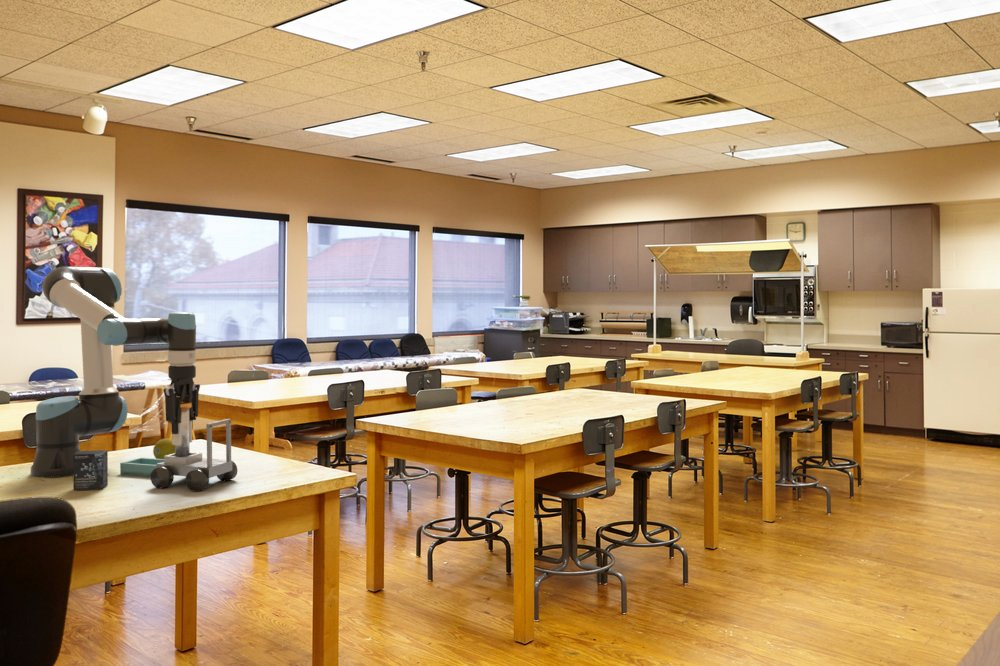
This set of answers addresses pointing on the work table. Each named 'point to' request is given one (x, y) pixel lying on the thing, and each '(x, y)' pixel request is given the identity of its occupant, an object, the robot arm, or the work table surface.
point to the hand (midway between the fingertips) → (182, 443)
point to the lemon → (163, 448)
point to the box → (90, 470)
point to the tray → (139, 466)
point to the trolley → (196, 465)
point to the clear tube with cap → (184, 430)
